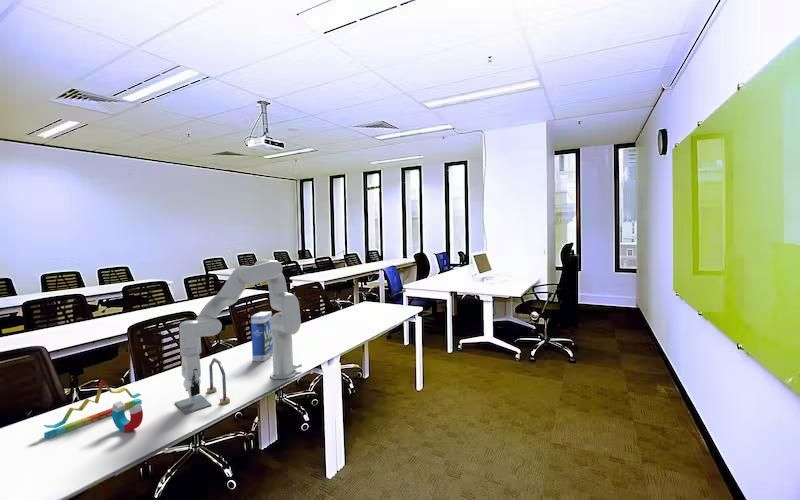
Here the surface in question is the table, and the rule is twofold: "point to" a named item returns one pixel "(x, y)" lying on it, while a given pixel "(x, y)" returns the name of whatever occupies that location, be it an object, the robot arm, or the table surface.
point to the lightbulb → (188, 387)
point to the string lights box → (261, 336)
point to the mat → (192, 404)
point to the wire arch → (213, 389)
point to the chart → (91, 418)
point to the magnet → (121, 419)
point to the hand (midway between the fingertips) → (192, 392)
